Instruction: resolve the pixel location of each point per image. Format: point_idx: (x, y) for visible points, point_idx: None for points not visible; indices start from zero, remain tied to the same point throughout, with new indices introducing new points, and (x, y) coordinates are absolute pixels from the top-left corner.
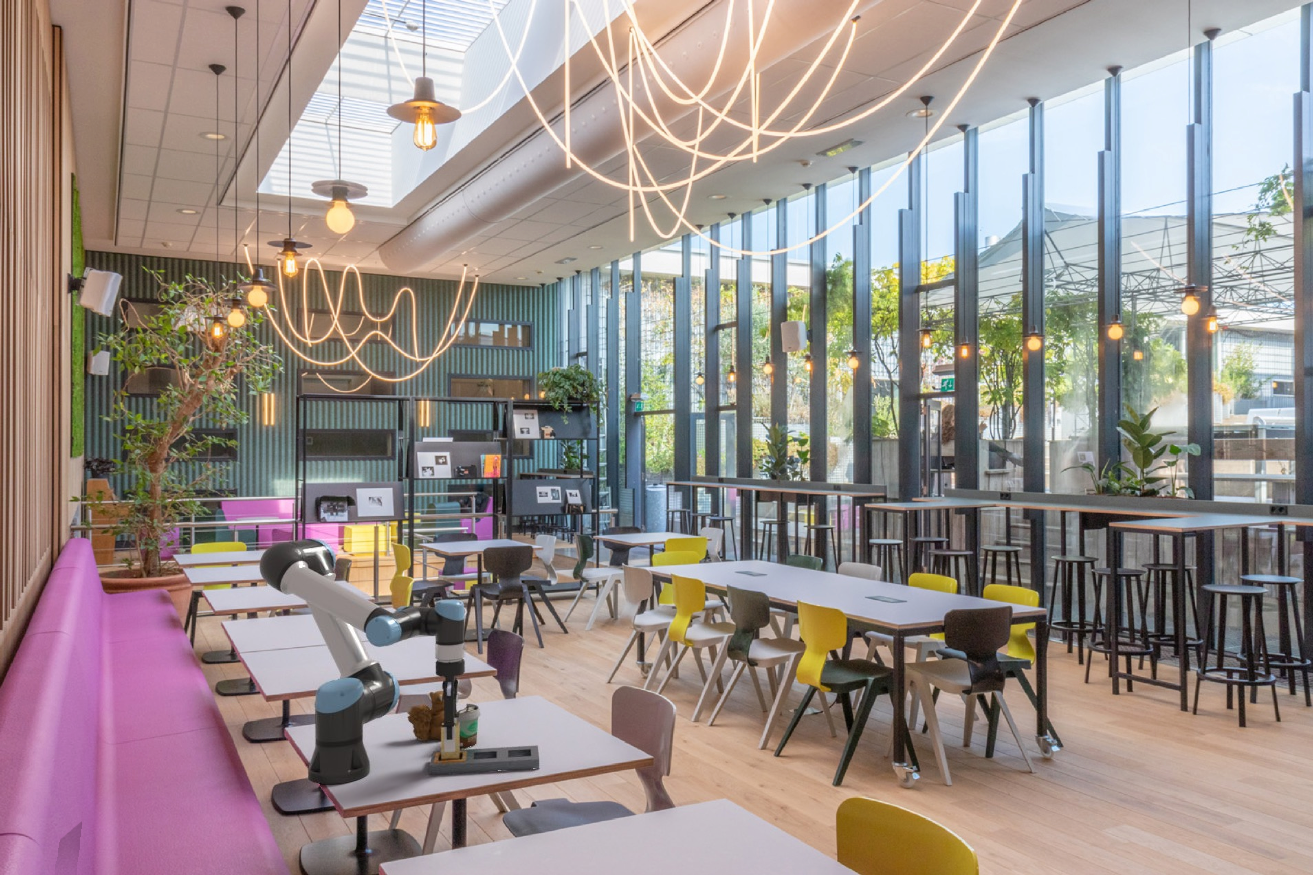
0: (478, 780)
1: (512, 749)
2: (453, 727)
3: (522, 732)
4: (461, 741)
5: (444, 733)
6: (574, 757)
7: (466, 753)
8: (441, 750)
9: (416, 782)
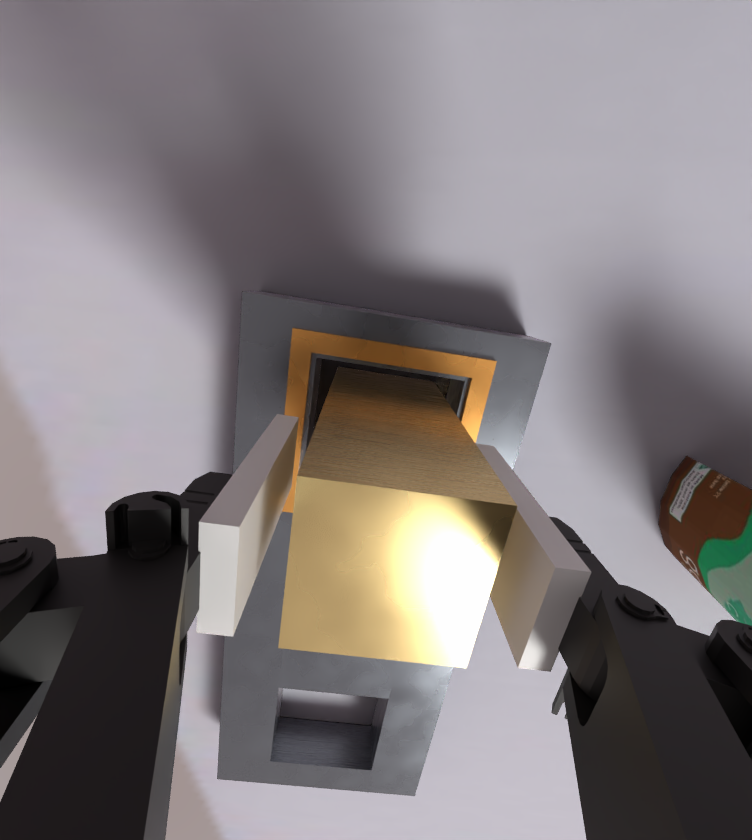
0: None
1: (396, 714)
2: (201, 608)
3: None
4: (687, 521)
5: (228, 481)
6: (330, 831)
7: None
8: (327, 397)
9: (147, 200)
